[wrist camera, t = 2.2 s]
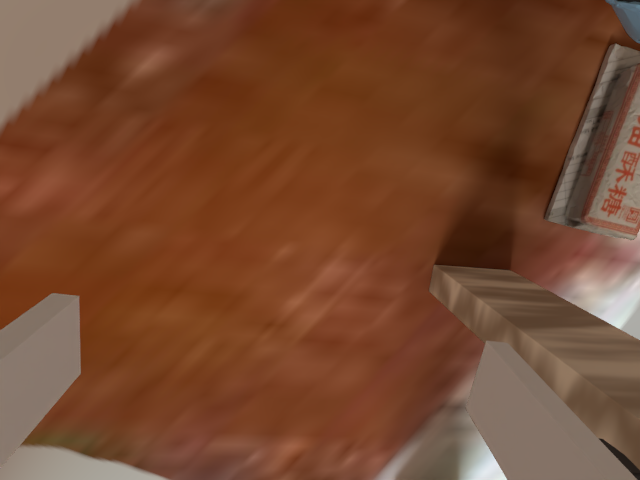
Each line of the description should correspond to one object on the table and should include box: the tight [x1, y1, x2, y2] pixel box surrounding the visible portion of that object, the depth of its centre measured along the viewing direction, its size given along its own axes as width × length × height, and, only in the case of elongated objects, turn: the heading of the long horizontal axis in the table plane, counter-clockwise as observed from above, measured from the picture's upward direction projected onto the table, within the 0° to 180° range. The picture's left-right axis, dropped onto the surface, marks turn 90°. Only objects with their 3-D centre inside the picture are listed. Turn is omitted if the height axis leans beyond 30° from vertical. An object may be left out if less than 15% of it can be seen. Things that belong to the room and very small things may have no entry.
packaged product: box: [544, 43, 640, 240], centre depth 40 cm, size 18×5×10 cm
